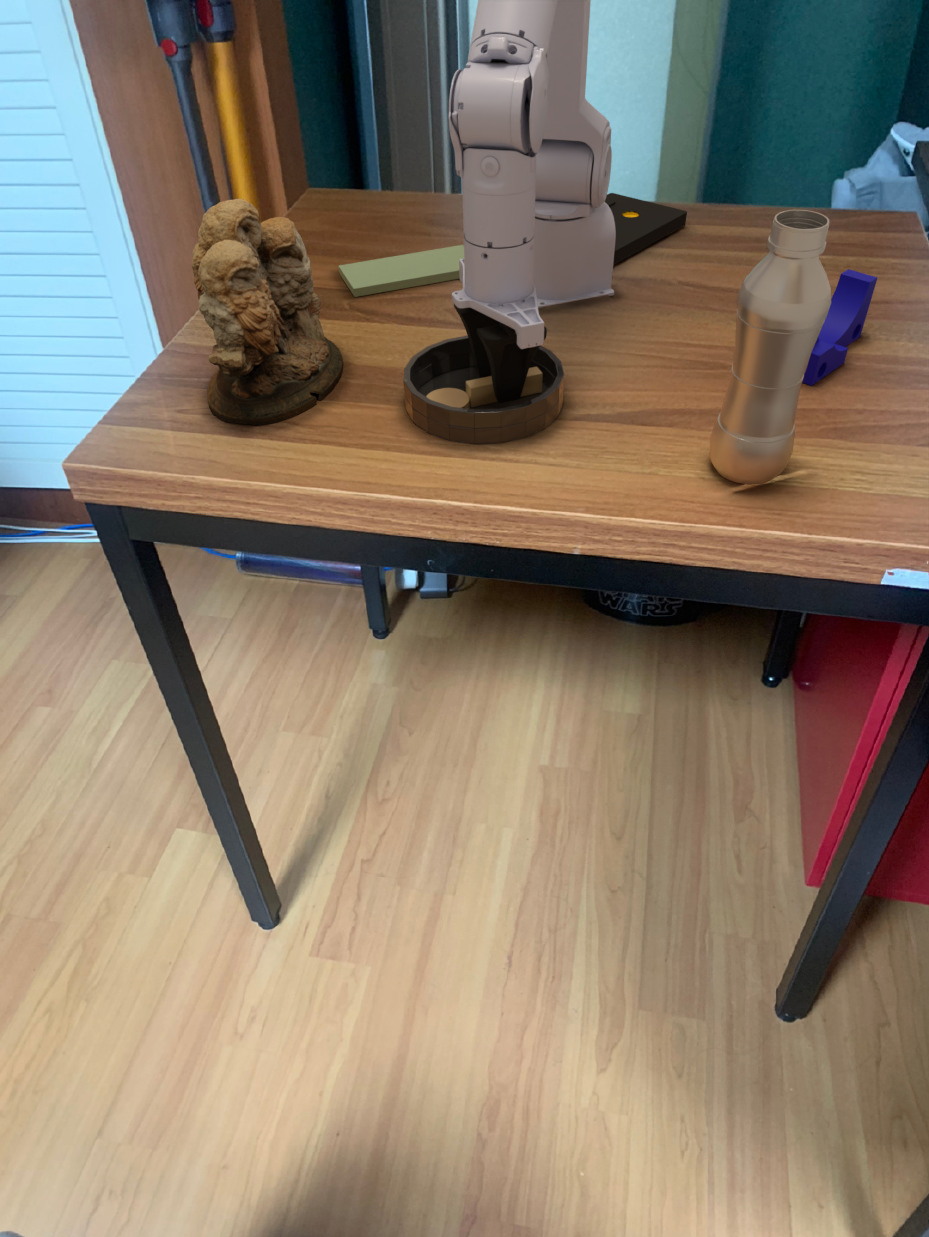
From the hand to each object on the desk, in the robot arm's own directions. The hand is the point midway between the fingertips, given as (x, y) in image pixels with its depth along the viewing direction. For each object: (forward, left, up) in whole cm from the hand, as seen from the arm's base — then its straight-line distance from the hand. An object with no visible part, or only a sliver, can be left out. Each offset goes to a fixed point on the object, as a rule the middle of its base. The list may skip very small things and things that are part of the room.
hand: (499, 387), depth 81 cm
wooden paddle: (+1, 0, -1) cm, 2 cm away
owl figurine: (+18, -11, -2) cm, 22 cm away
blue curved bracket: (-32, +4, -2) cm, 33 cm away
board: (-4, -31, -2) cm, 31 cm away
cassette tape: (-27, -32, -2) cm, 41 cm away
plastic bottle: (-14, +18, -2) cm, 23 cm away
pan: (+2, 0, -2) cm, 2 cm away
